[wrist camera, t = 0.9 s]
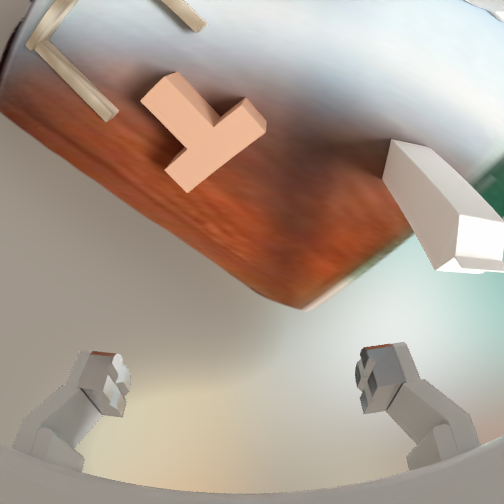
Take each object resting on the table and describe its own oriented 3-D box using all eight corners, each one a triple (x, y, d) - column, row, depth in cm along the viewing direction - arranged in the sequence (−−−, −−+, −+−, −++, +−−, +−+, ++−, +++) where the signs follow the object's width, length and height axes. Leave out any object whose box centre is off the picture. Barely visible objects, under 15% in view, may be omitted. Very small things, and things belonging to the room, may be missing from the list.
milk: (390, 138, 36) (476, 235, 19) (429, 147, 36) (524, 243, 18) (381, 180, 40) (446, 296, 22) (419, 186, 40) (494, 297, 22)
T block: (201, 50, 31) (191, 51, 27) (266, 121, 36) (265, 132, 32) (135, 114, 36) (118, 124, 32) (196, 176, 42) (187, 193, 38)
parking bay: (118, -54, 21) (107, -59, 19) (208, 24, 29) (202, 22, 27) (38, 42, 29) (25, 45, 26) (112, 118, 37) (102, 124, 34)
